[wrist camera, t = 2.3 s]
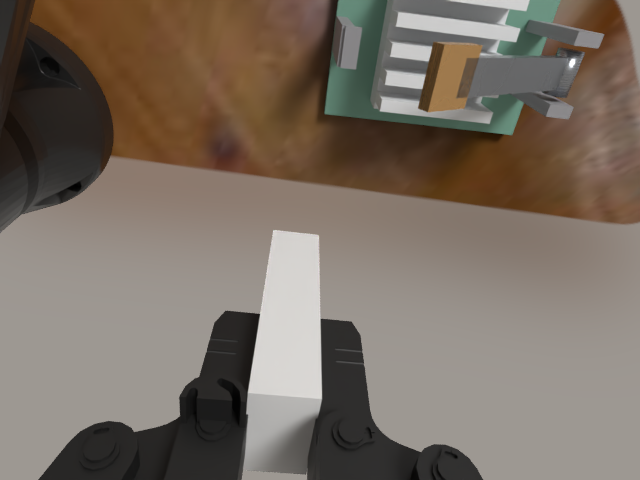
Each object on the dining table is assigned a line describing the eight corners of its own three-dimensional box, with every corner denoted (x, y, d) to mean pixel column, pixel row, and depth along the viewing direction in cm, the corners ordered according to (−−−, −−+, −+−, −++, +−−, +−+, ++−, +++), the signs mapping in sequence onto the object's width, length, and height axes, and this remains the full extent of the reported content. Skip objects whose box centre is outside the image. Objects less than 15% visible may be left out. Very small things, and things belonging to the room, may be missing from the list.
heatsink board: (324, 110, 36) (327, 143, 30) (345, -63, 30) (356, -72, 23) (507, 131, 38) (551, 166, 31) (564, -31, 31) (635, -31, 25)
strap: (411, 105, 23) (434, 115, 22) (426, 39, 21) (452, 46, 20) (548, 93, 31) (570, 99, 30) (566, 44, 29) (590, 49, 28)
